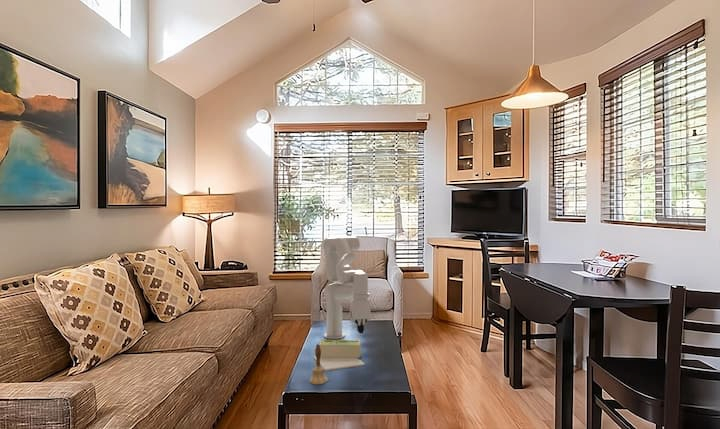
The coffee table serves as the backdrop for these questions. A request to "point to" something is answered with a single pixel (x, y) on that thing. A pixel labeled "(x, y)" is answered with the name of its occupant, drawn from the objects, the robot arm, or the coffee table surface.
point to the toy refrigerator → (340, 348)
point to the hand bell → (318, 369)
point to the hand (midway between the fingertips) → (360, 332)
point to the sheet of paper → (338, 362)
